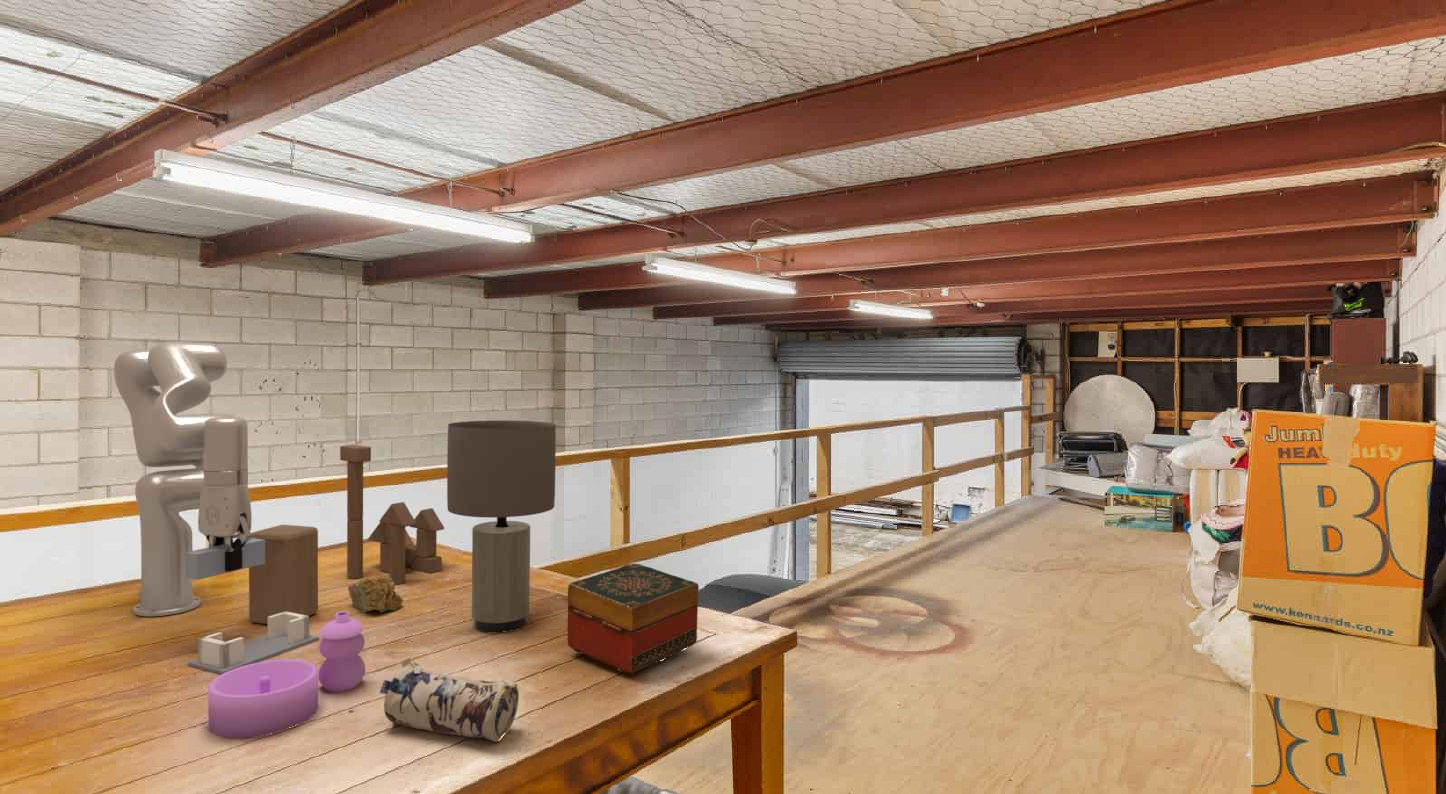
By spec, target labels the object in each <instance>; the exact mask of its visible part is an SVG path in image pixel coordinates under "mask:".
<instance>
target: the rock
mask: <svg viewBox="0 0 1446 794" xmlns="http://www.w3.org/2000/svg"><path fill="white" fill-rule="evenodd" d="M395 588H396V585H395V583H394V582H393V580H392V579H391V578H389V577H386V576H374V577H367V578H360V579H359V581H358V582H356V583H353V584H352V585H349V586H348V587H347V590H348V593H349V596H350V598H351V602H352V605H353V607H354V608H357V609H359V610H361V612H364V613H368V612H371V611H379V613H384V612H386V611H390V612H391V611H396V610H398V609H399V608H400V607H401V605H402V604H403V601H404V598H402V597H401V596H400V595H399V594H398V593H397V592H396V591H395Z"/></svg>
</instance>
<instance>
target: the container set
mask: <svg viewBox="0 0 1446 794" xmlns="http://www.w3.org/2000/svg"><path fill="white" fill-rule="evenodd" d="M363 629H364V625H363V622H361V621H359V620H358V619H355V618H351V617H350V612H349V611H347V610H346V611H344V610H343V611H337V612H336V613H335V619H334V620H331V621H329V622H327V623H326V624H324V625H323V626H322V628H321V630H320V634H321V635H320V636H322V639H321V640H320V642H319V645H318V646H319V647H318V650H319V653H320V655H321V656H322V657H323V658H324V659H325V660H324V661H323V663H322V664H321V665H320V666H319V667H320V668H318V666H317V665H316V664H314V662H310V661H308V660H304V659H303V660H302V659H273V660H272V659H271V660H266V661H265V660H263V661H260V662H257V663H253V664H249V665H245V666H242V667H239V668H236V669H233V670H230V671H228V672H225V673H223V674H219V675H218V676H216V677H215V678H214V679H212V680H211V681H210V683H208V692H207V693H208V695H207V696H208V698H207V699H208V703H207V705H208V706H207V707H208V715H207V716H208V730H209V732H211V733H212V735H213V734H214V735H216V737H217V736H218V737H222V738H226V737H228V739H229V738H230V739H249V738H257V737H256V736H258V737H263V736H262V735H264V736H267V735H266V734H269V735H271V734H270V733H273V734H276V733H275V732H277V733H279V732H278V731H281V730H284V729H287V728H289V727H292V726H295V725H297V724H299V725H301V724H303V723H305V722H306V721H308V720H310V719H311V718H312V717H313V716H314V715H315V714H316V713H317V711H318V710H317V709H319V683H320V685H321V686H322V687H323V688H324V689H326V690H327V691H329V692H335V693H338V692H339V693H340V692H345V691H349V690H352V689H353V688H356V687H357V686H358V684H359V683H360V682H361V681H362V679H363V678H364V676H365V673H366V665H365V664H366V663H365V661H364V660H363V658H362V657H361V656H360V655H359V654H360V653H361V652H362V650H363V649H364V646H365V645H366V644H365V637H364V635H363V634H361V633H362V632H363ZM313 714H314V715H313ZM312 715H313V716H312ZM311 716H312V717H311ZM310 717H311V718H310ZM304 721H305V722H304ZM300 723H301V724H300ZM297 726H298V725H297ZM295 727H296V726H295ZM292 728H293V727H292ZM287 730H288V729H287ZM284 731H285V730H284ZM281 732H282V731H281Z"/></svg>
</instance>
